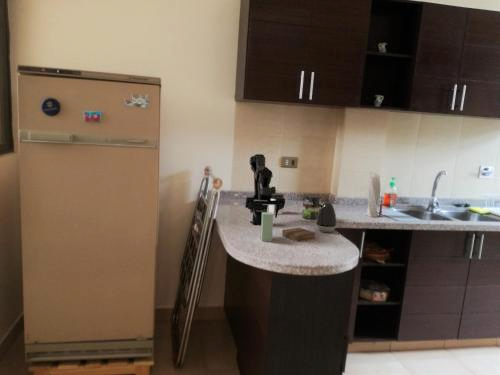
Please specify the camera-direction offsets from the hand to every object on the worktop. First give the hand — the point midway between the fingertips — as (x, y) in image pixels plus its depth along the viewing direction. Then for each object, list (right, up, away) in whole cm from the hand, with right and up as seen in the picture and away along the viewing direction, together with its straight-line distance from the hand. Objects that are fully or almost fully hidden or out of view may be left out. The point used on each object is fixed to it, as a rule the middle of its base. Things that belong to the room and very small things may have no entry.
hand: (266, 217), depth 180 cm
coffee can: (+28, -5, +47) cm, 55 cm away
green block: (0, -10, -1) cm, 10 cm away
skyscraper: (+70, -5, +64) cm, 95 cm away
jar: (+9, -2, +62) cm, 63 cm away
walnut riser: (+16, -10, +5) cm, 19 cm away
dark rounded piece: (+31, -9, +20) cm, 38 cm away
